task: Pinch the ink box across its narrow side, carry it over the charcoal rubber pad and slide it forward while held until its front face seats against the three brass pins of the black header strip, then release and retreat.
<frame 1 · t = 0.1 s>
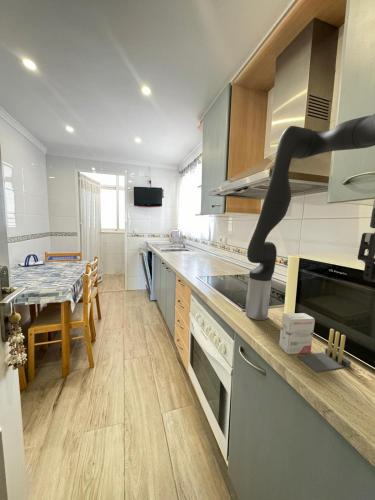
ink box: (294, 350, 69), on the worktop
pin header: (336, 359, 65), on the worktop
rubber pad: (319, 362, 63), on the worktop
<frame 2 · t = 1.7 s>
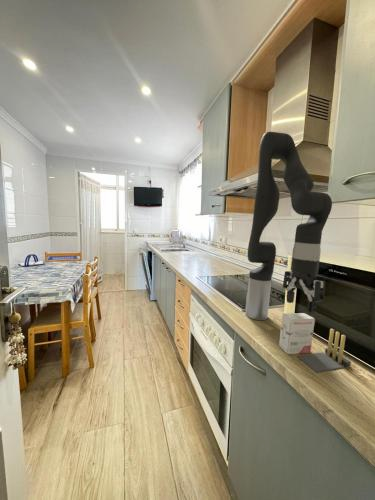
hand: (299, 307, 67), 15 cm above the worktop, fingers open, 8 cm apart
nothing on the worktop moved.
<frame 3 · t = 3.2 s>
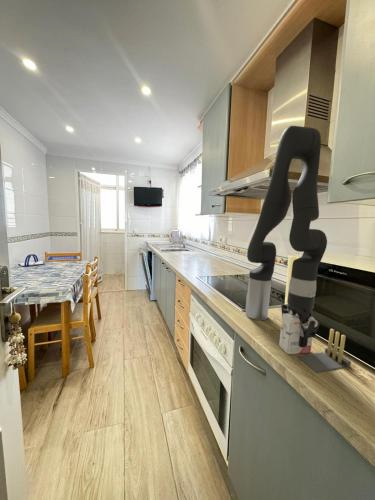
hand: (295, 341, 69), 3 cm above the worktop, fingers closed on ink box, 5 cm apart
ink box: (294, 350, 69), on the worktop, touching gripper
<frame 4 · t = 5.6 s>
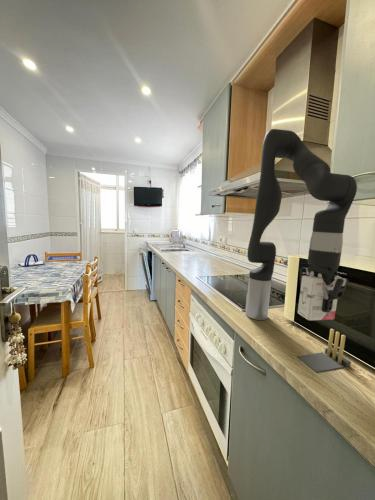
hand: (317, 307, 60), 18 cm above the worktop, fingers closed on ink box, 5 cm apart
ink box: (315, 317, 60), point 14 cm above the worktop, touching gripper
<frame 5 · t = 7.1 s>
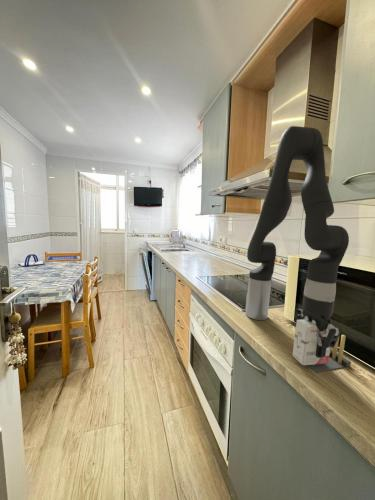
hand: (311, 350, 62), 4 cm above the worktop, fingers closed on ink box, 5 cm apart
ink box: (309, 360, 62), point 1 cm above the worktop, touching gripper
when the fingers open (4 cm above the worktop, at t = 8.3 s): ink box stays where it is, resting on rubber pad.
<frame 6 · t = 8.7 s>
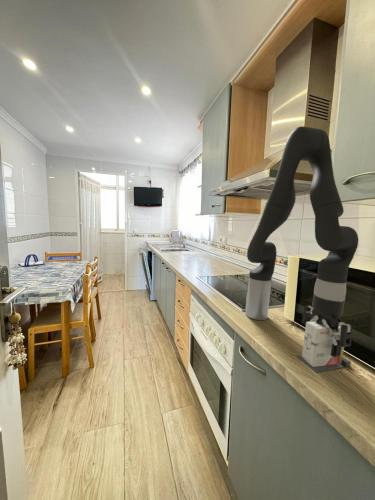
hand: (321, 347, 63), 5 cm above the worktop, fingers open, 8 cm apart
ink box: (319, 361, 63), resting on rubber pad
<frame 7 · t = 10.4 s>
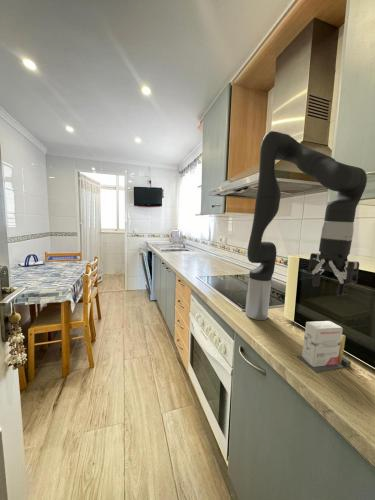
hand: (327, 290, 64), 21 cm above the worktop, fingers open, 8 cm apart
nothing on the worktop moved.
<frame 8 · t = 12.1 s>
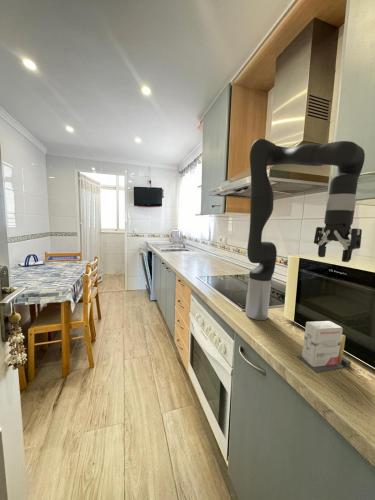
hand: (332, 259, 69), 30 cm above the worktop, fingers open, 8 cm apart
nothing on the worktop moved.
at the end: ink box 0.2 cm from the target spot, resting on rubber pad; ink box tilted 0°; the gripper is holding nothing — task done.
